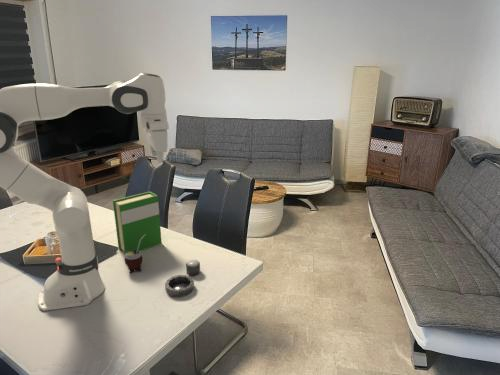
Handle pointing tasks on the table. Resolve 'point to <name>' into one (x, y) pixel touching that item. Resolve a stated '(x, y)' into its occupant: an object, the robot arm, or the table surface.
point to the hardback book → (137, 221)
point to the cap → (193, 267)
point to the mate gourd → (134, 259)
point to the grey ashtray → (179, 286)
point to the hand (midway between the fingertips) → (157, 158)
